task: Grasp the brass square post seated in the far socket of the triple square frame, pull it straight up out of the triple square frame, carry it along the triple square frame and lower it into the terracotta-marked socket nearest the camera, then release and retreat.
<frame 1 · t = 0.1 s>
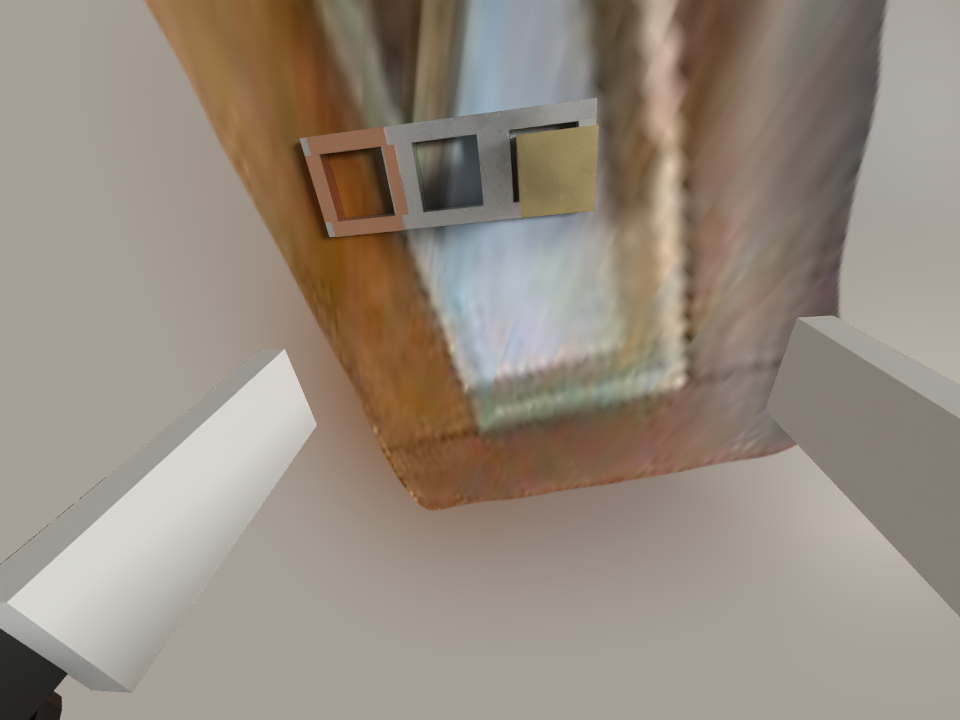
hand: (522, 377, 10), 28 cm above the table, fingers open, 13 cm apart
triple square frame: (451, 173, 33), on the table
brass post: (542, 163, 32), resting in triple square frame
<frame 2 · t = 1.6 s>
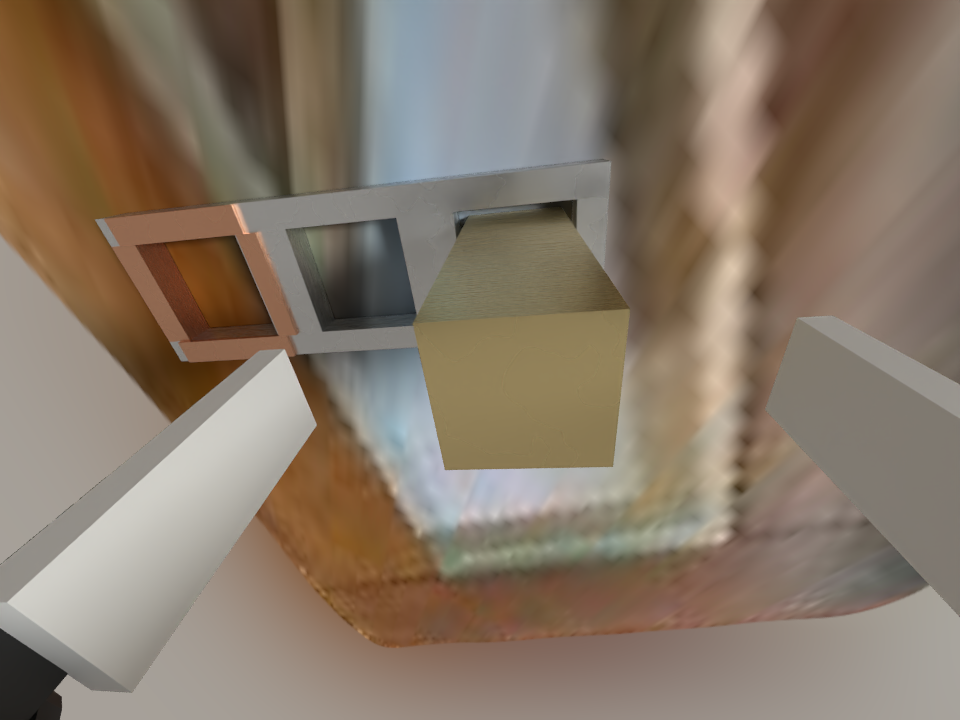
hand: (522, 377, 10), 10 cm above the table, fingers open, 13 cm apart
triple square frame: (366, 269, 20), on the table
brass post: (516, 256, 19), resting in triple square frame
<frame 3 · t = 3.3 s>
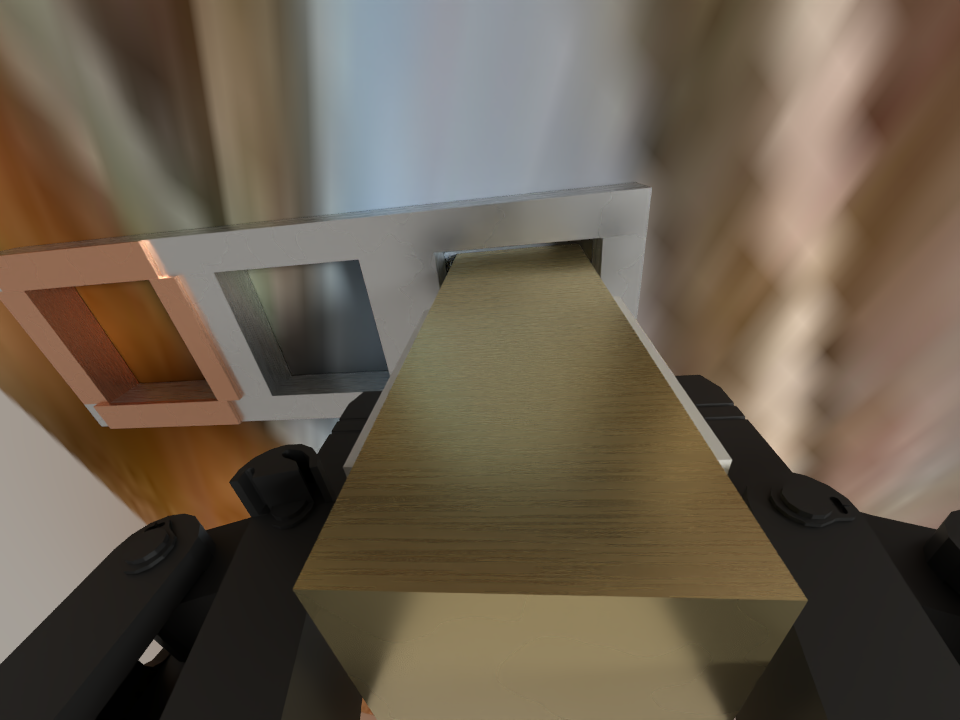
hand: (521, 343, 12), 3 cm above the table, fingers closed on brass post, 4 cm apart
triple square frame: (328, 318, 16), on the table
brass post: (519, 305, 15), resting in triple square frame, touching gripper
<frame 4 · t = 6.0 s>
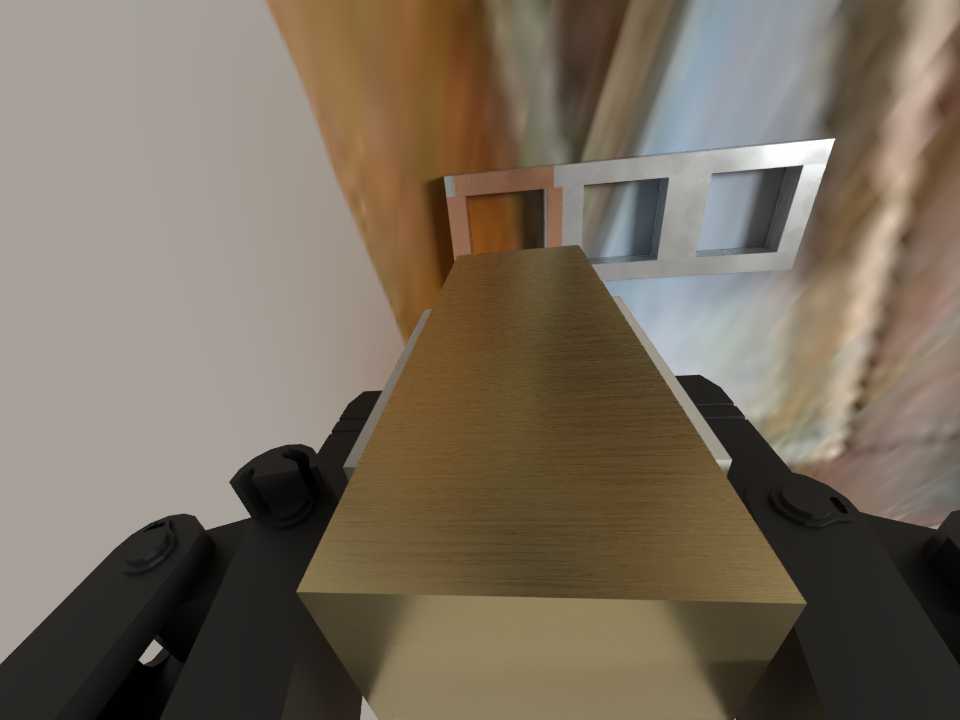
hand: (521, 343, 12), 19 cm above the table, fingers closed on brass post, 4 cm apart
triple square frame: (616, 219, 27), on the table
brass post: (520, 306, 15), point 15 cm above the table, touching gripper
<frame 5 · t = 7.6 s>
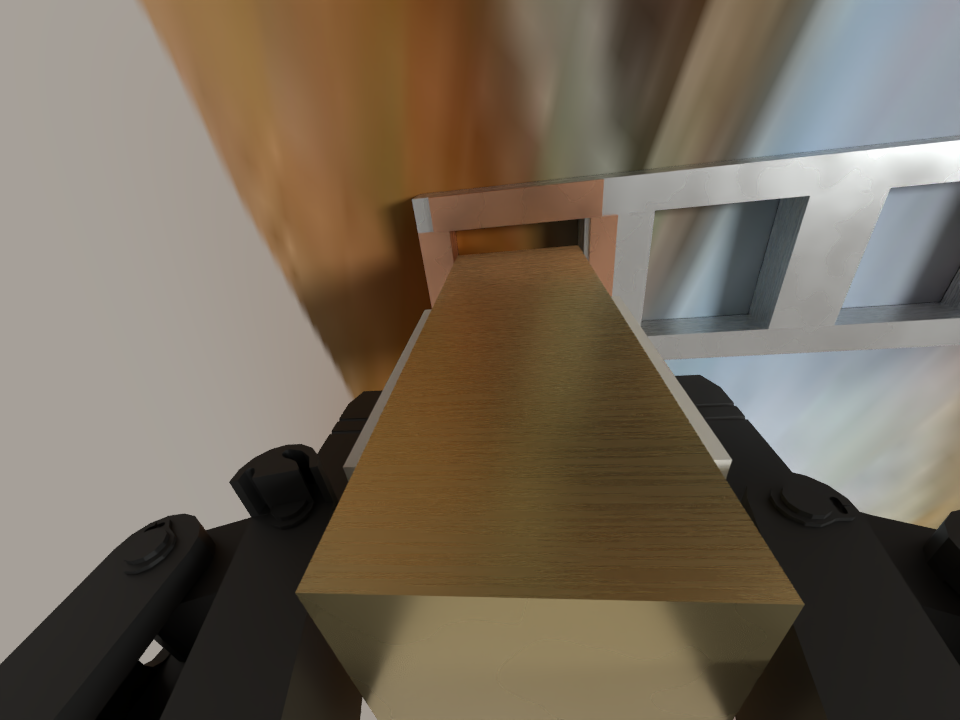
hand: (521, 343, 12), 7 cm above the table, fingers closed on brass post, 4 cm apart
triple square frame: (698, 262, 17), on the table
brass post: (519, 306, 15), point 3 cm above the table, touching gripper
when the fingers open (4 cm above the table, at t = 8.7 s): brass post stays where it is, resting in triple square frame.
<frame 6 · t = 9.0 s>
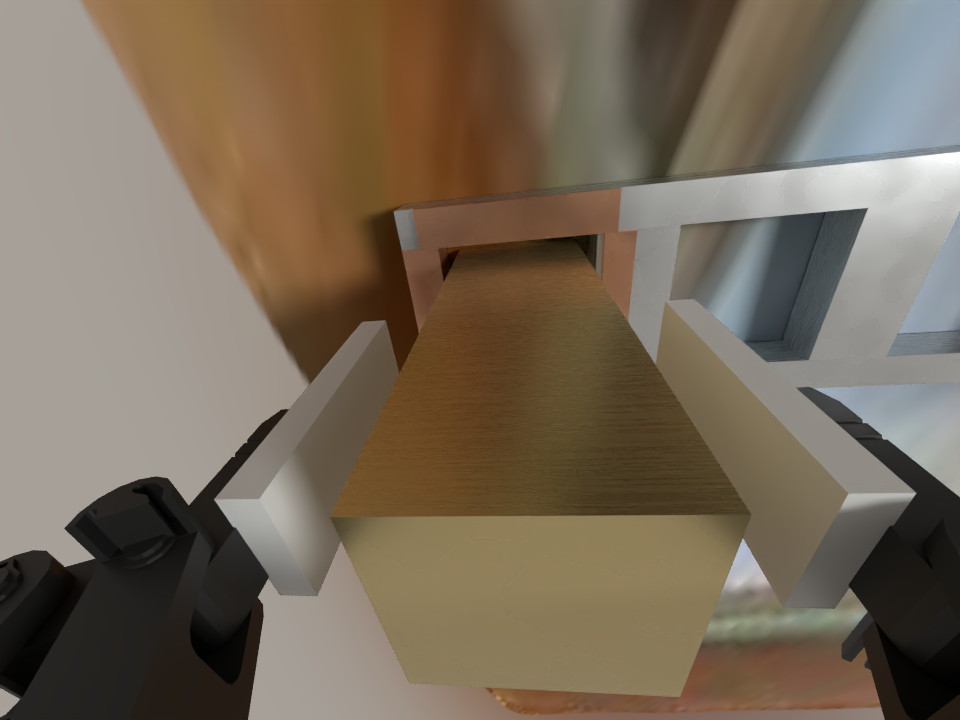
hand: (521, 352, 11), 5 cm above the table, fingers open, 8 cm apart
triple square frame: (727, 282, 14), on the table
brass post: (519, 298, 15), resting in triple square frame
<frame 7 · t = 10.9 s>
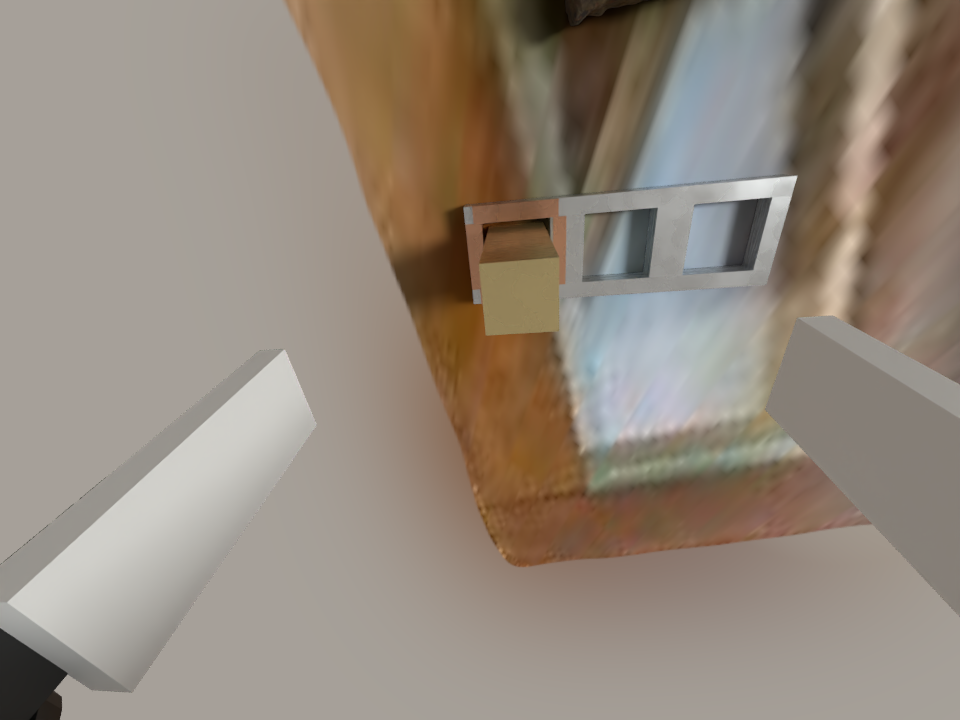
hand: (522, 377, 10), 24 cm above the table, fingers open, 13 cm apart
triple square frame: (613, 242, 31), on the table
brass post: (516, 250, 32), resting in triple square frame
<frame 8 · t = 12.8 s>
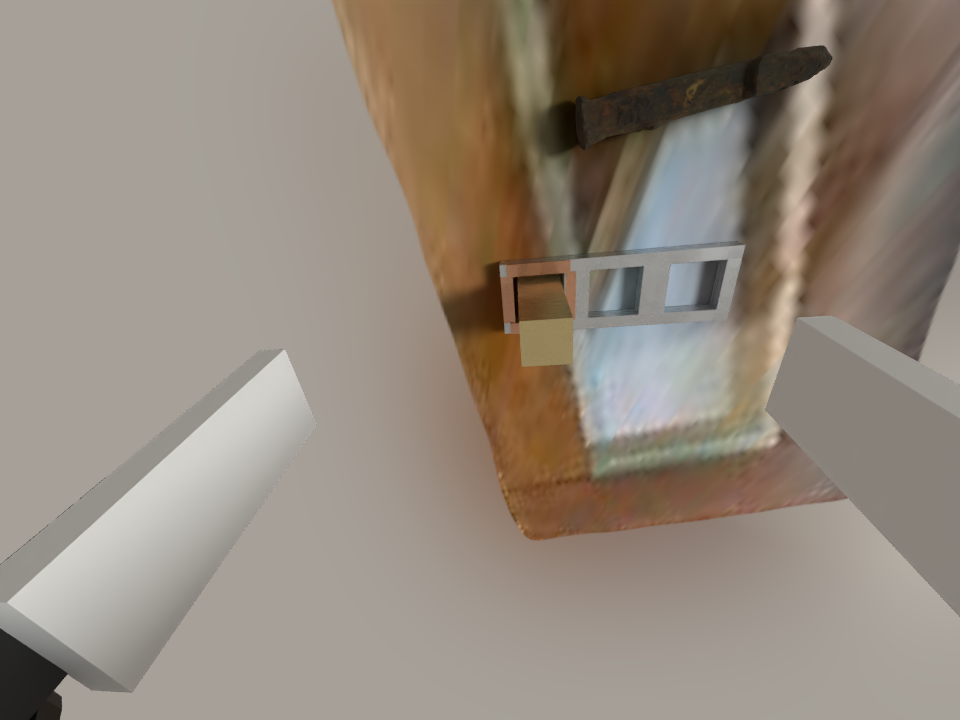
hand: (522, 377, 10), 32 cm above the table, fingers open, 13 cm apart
triple square frame: (611, 287, 41), on the table
brass post: (538, 293, 42), resting in triple square frame
hand tool: (683, 89, 32), on the table
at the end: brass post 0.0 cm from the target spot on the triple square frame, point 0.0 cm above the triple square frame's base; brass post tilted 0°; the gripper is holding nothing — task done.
